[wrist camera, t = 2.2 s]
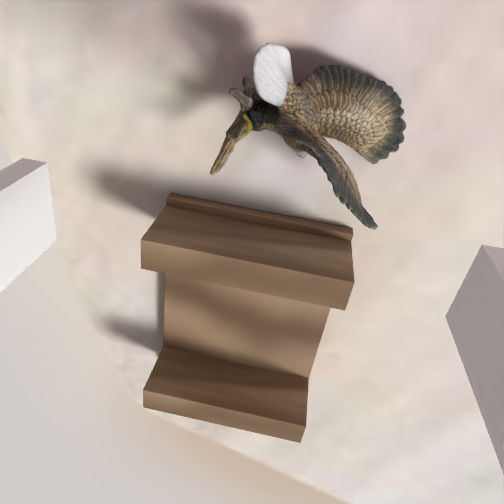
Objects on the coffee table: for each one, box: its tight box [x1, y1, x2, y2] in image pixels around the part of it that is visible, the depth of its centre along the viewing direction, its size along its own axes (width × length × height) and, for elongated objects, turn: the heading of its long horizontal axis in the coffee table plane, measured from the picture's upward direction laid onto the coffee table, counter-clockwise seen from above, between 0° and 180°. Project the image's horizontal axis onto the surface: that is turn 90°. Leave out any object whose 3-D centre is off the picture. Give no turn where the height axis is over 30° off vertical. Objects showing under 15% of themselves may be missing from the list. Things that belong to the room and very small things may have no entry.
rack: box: [141, 193, 354, 443], centre depth 29 cm, size 16×12×5 cm
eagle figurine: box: [210, 43, 406, 229], centre depth 21 cm, size 8×7×9 cm
